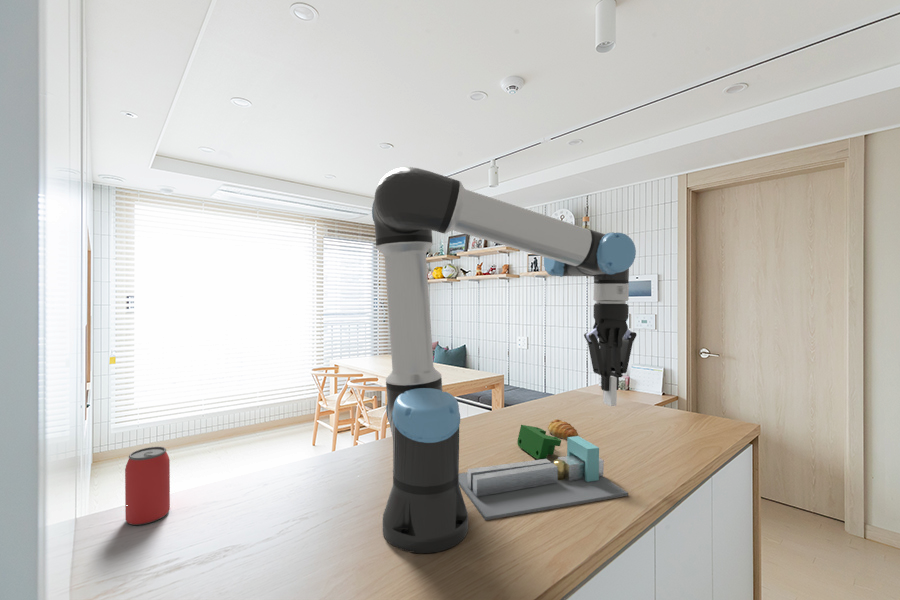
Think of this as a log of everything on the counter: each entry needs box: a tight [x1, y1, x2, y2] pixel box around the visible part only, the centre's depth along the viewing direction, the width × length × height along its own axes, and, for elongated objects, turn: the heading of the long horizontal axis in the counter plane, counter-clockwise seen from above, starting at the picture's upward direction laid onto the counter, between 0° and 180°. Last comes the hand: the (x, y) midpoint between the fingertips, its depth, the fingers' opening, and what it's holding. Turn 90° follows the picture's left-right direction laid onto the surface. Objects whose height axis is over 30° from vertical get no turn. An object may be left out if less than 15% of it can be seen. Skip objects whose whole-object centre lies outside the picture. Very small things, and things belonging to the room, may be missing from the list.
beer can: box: [124, 446, 171, 526], centre depth 76 cm, size 7×7×12 cm
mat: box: [459, 460, 629, 521], centre depth 89 cm, size 32×18×1 cm, turn 108°
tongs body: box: [467, 455, 605, 490], centre depth 90 cm, size 31×4×4 cm, turn 108°
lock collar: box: [566, 435, 600, 482], centre depth 94 cm, size 3×8×7 cm, turn 18°
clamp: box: [516, 424, 562, 460], centre depth 108 cm, size 12×6×9 cm, turn 14°
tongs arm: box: [473, 463, 558, 497], centre depth 87 cm, size 19×2×4 cm, turn 110°
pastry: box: [547, 419, 579, 440], centre depth 121 cm, size 9×7×4 cm
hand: (609, 404), depth 95 cm, fingers closed
